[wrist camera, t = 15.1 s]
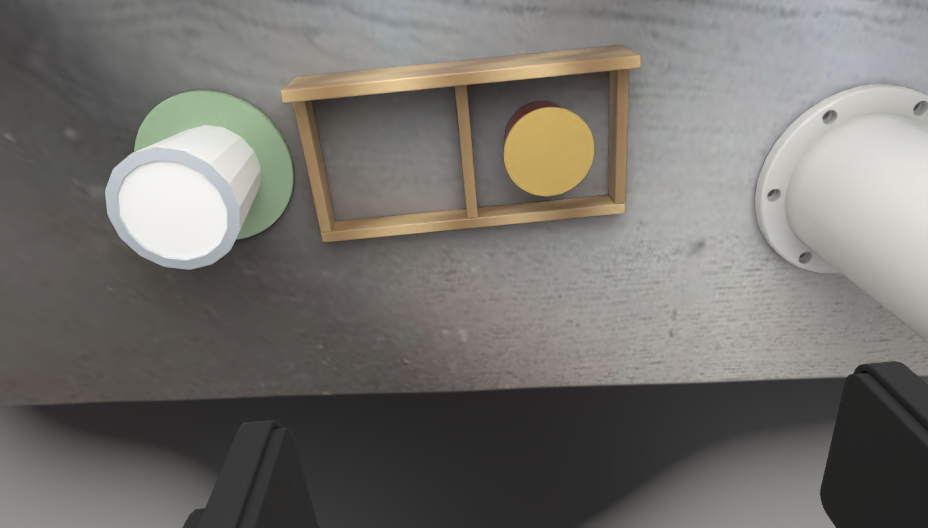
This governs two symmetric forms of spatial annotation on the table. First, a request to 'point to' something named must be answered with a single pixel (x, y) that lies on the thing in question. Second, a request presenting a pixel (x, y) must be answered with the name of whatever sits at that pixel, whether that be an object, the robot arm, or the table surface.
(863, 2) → the table surface
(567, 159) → the coffee pod
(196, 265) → the shot glass
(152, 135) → the coaster
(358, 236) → the pod caddy
